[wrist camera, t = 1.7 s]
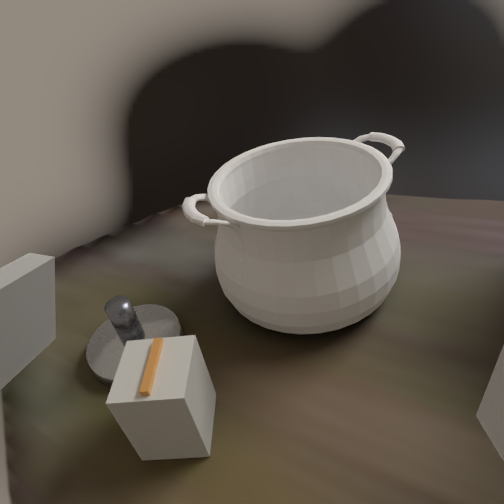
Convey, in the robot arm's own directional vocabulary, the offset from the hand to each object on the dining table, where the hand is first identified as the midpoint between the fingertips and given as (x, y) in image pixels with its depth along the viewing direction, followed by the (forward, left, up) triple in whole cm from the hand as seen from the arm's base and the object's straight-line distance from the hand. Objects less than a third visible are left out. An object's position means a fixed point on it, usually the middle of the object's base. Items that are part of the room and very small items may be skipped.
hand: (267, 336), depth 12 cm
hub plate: (-18, -29, -31) cm, 46 cm away
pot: (-35, -11, -31) cm, 48 cm away
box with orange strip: (-10, -18, -31) cm, 37 cm away
